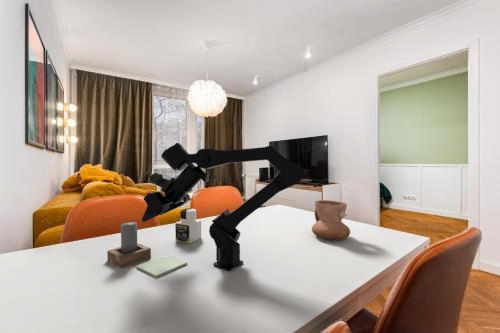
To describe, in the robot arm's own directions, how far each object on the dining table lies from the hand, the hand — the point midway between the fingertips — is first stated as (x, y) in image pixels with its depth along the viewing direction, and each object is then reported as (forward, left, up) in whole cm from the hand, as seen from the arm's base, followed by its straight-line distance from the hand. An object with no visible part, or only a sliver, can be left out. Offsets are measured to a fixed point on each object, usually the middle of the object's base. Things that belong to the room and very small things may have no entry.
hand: (151, 217), depth 71 cm
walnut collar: (+7, +4, -13) cm, 15 cm away
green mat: (-6, +1, -13) cm, 15 cm away
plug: (+7, +4, -13) cm, 15 cm away
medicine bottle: (+7, -19, -13) cm, 25 cm away
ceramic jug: (-37, -54, -13) cm, 67 cm away
